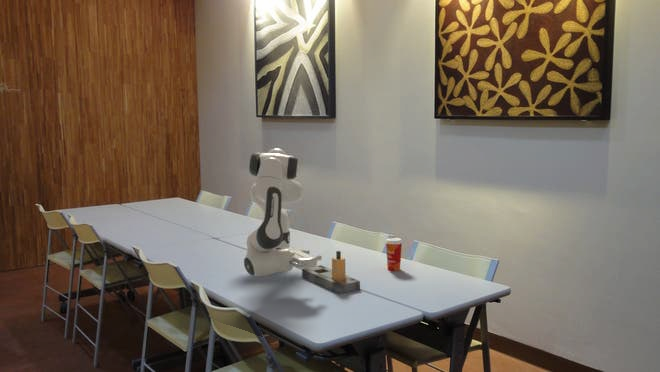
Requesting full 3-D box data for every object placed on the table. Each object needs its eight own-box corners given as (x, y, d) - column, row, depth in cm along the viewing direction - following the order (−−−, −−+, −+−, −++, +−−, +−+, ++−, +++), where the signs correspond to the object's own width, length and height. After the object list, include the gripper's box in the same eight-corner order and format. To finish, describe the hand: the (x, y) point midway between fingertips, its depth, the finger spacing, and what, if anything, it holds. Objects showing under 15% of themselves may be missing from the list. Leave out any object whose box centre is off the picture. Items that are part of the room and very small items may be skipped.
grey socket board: (302, 276, 260) (302, 268, 260) (321, 272, 265) (321, 265, 265) (339, 293, 235) (339, 285, 234) (360, 289, 240) (360, 281, 240)
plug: (332, 286, 245) (331, 251, 243) (340, 284, 247) (339, 249, 245) (337, 288, 242) (337, 253, 240) (345, 287, 244) (345, 251, 242)
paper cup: (382, 268, 272) (382, 238, 270) (397, 266, 274) (397, 237, 272) (390, 272, 264) (390, 242, 263) (405, 270, 267) (405, 240, 265)
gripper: (297, 258, 223) (328, 252, 230) (272, 246, 240) (302, 242, 247) (297, 274, 224) (328, 268, 231) (273, 261, 241) (302, 256, 248)
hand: (314, 254), depth 239 cm, fingers open, 8 cm apart
